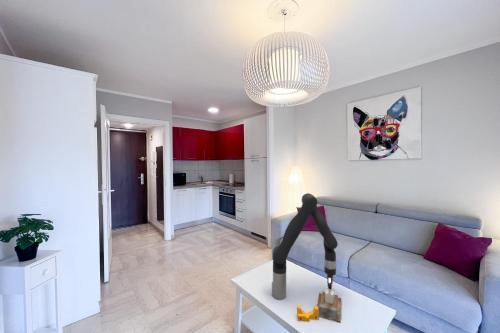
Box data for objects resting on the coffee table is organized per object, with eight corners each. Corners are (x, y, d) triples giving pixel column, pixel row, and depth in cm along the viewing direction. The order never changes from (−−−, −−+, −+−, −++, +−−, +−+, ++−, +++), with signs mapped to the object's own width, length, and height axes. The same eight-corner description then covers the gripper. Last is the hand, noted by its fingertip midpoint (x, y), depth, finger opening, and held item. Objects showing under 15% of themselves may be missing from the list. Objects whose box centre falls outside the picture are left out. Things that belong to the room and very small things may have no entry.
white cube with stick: (325, 302, 137) (325, 289, 137) (325, 296, 143) (325, 284, 142) (333, 304, 135) (333, 291, 135) (333, 298, 141) (333, 286, 140)
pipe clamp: (298, 321, 123) (298, 310, 123) (296, 315, 128) (296, 305, 127) (319, 322, 122) (319, 311, 122) (317, 316, 127) (317, 306, 127)
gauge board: (315, 315, 127) (315, 305, 127) (319, 294, 147) (319, 285, 147) (340, 323, 122) (340, 312, 121) (341, 300, 142) (341, 290, 141)
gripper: (325, 260, 151) (324, 284, 152) (323, 269, 139) (323, 295, 140) (336, 262, 148) (336, 287, 149) (335, 271, 136) (335, 298, 137)
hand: (329, 291), depth 144 cm, fingers closed
